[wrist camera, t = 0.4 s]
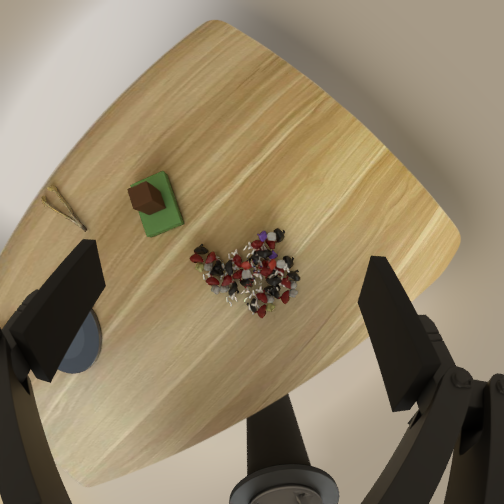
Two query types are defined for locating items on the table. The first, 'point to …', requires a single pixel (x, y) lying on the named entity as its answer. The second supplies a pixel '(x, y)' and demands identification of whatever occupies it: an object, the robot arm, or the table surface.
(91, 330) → the plate
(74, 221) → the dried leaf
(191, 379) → the table surface
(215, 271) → the dark lumpy cluster
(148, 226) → the sponge brush
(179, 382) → the table surface
